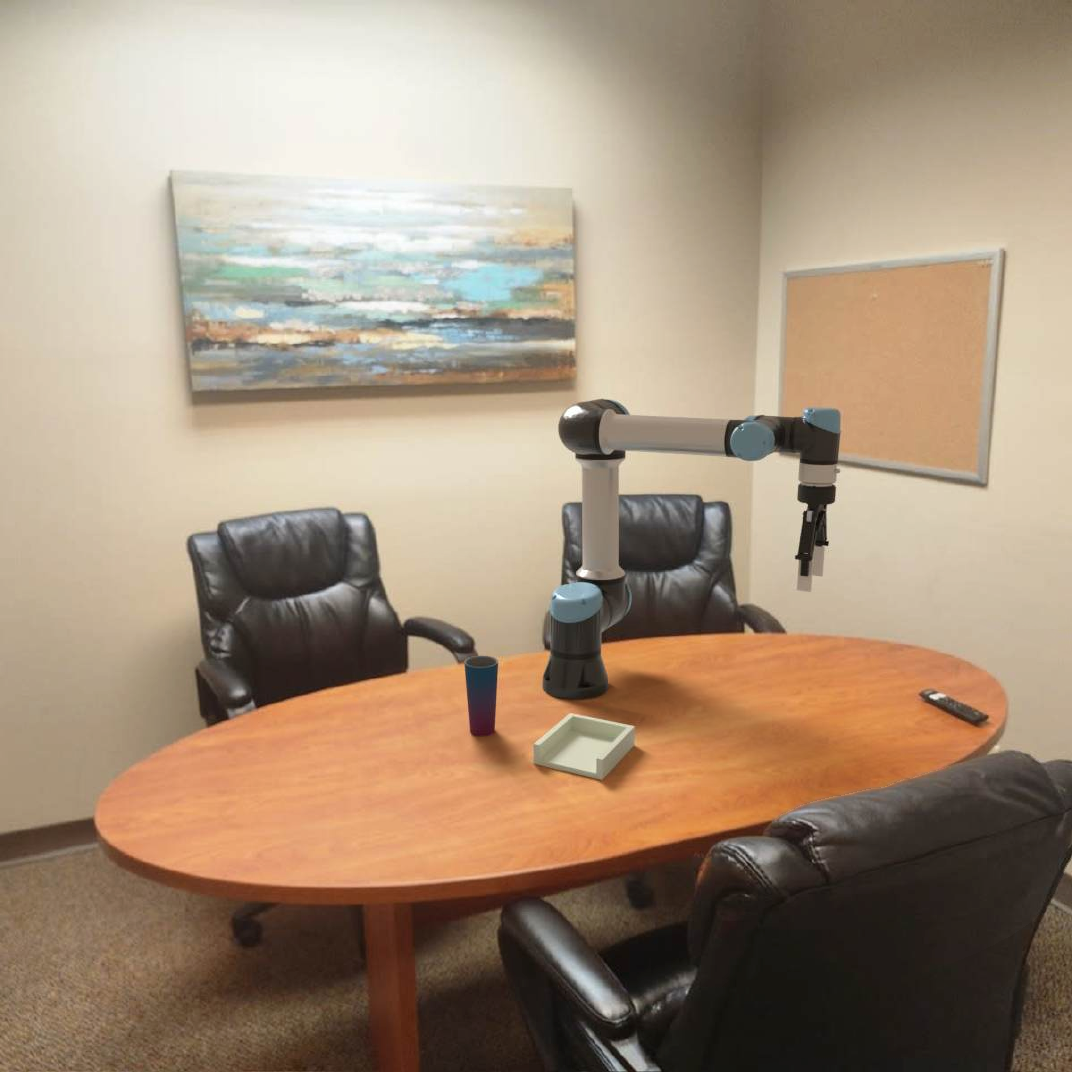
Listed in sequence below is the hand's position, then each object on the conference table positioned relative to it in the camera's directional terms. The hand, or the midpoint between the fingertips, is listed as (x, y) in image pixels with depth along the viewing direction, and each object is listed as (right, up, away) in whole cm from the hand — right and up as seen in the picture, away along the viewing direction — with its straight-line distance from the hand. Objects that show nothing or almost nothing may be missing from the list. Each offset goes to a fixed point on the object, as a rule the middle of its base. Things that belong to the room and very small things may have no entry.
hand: (810, 583), depth 187 cm
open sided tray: (-48, -32, -17) cm, 60 cm away
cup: (-69, -30, -6) cm, 75 cm away
